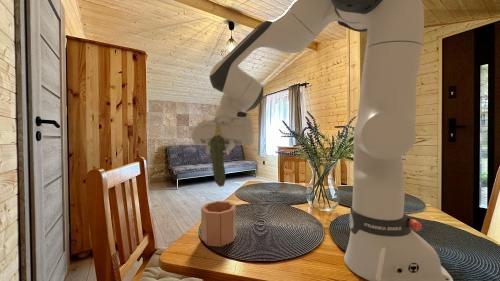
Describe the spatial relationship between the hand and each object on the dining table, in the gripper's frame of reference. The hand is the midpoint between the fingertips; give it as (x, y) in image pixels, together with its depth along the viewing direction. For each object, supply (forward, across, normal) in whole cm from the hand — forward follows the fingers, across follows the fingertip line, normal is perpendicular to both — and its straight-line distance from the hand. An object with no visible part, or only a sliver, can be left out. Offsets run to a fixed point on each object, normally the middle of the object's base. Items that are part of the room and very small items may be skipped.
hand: (216, 153), depth 70 cm
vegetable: (+7, 0, +8) cm, 11 cm away
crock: (+19, 0, +19) cm, 27 cm away
